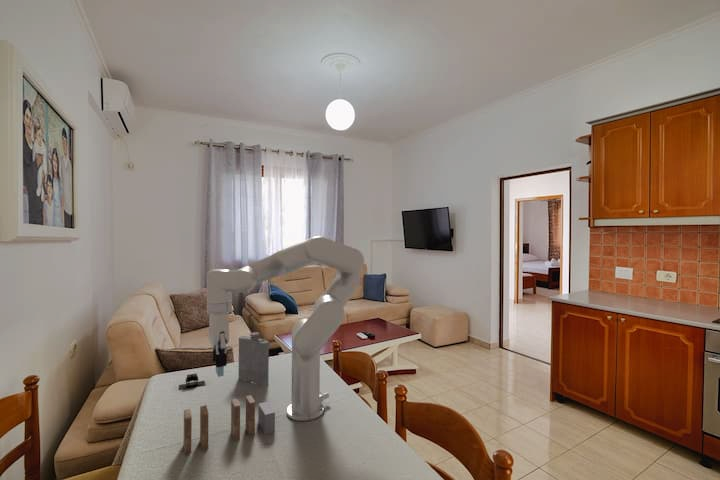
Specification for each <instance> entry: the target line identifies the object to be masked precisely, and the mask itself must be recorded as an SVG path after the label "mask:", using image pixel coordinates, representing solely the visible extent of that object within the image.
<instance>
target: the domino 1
mask: <svg viewBox="0 0 720 480" xmlns="http://www.w3.org/2000/svg"><path fill="white" fill-rule="evenodd" d="M192 417H193V416H192V411H191V408H188V409H184V410H183V450H184V451H183V452H184V455H188V454H191V453H192V432H193V431H192V427H193V426H192V423H193V422H192Z"/></svg>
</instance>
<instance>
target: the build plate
mask: <svg viewBox="0 0 720 480" xmlns="http://www.w3.org/2000/svg"><path fill="white" fill-rule="evenodd" d="M204 386H206V382H205V380H199V375H198V373H197V372H196V373H192V374H190V373H189V374H186V377H185V383H183V384H179V385H178V391H182V390H183V391H184V390H189V389H193V388H199V387H204Z"/></svg>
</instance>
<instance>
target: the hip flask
mask: <svg viewBox="0 0 720 480" xmlns="http://www.w3.org/2000/svg"><path fill="white" fill-rule="evenodd" d="M249 335H250V336H247V335H246V336H245V335H242V336H239V337H238V380H239V381H243V380H245V381H244V382H248V381H249V382H248V383H251V382H253V383H252V384H254V383H256V384H255V385H257V384H258V385H257V386H259V385H260V387H261V386H262V387H261V388H266V387H268V386H269V372H270V371H269V369H270V367H269V365H270V364H269V363H270V361H269V359H270V357H269V355H270V351H269V349H270V347H269V346H270V342H269V341H268V340H266V339H263V338H260V333H259V332H257V331H255V332H251V333H249ZM267 385H268V386H267ZM265 386H266V387H265Z"/></svg>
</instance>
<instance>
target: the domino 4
mask: <svg viewBox="0 0 720 480" xmlns="http://www.w3.org/2000/svg"><path fill="white" fill-rule="evenodd" d="M230 400H231V403H230V407H231V408H230V411H231V412H230V413H231V414H230V433H231V437H232V439H233V441H238V440H240V439H241V404H240V402H239V400H238V399H237V398H233V399H230Z"/></svg>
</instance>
